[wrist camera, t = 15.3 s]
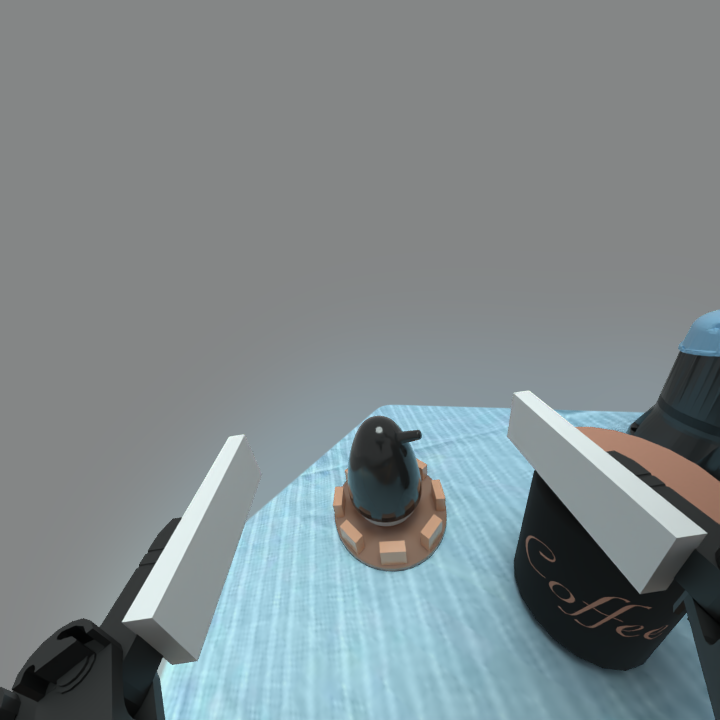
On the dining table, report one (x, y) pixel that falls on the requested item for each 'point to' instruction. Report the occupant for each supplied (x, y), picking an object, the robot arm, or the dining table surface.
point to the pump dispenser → (384, 472)
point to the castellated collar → (393, 529)
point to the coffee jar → (601, 565)
